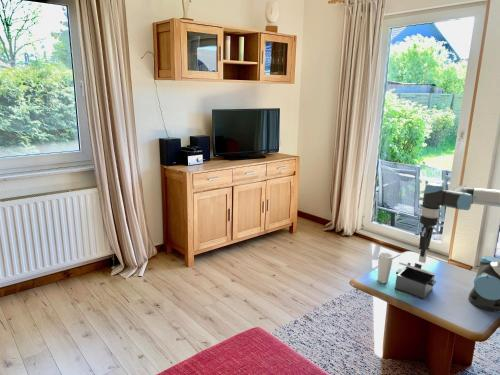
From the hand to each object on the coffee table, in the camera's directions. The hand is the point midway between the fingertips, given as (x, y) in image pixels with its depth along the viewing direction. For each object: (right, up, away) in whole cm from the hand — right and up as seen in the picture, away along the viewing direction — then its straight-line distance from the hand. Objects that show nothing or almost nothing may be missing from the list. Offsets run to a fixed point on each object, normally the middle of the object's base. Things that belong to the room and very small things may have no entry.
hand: (421, 261), depth 178 cm
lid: (+1, -5, +7) cm, 9 cm away
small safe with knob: (0, -16, +9) cm, 18 cm away
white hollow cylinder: (-13, -14, +17) cm, 25 cm away
